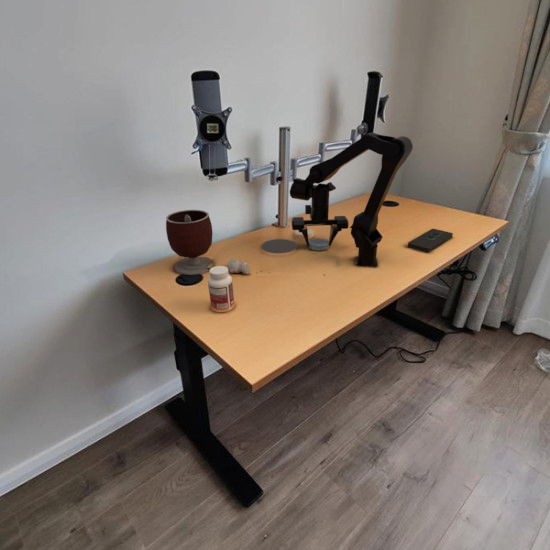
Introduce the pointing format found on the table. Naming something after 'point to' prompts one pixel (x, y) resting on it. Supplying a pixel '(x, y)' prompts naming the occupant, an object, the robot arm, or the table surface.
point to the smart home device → (430, 240)
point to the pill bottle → (221, 289)
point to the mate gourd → (190, 239)
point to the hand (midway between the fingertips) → (318, 246)
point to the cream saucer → (300, 235)
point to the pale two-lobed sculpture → (238, 266)
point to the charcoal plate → (279, 246)
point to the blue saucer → (318, 244)
